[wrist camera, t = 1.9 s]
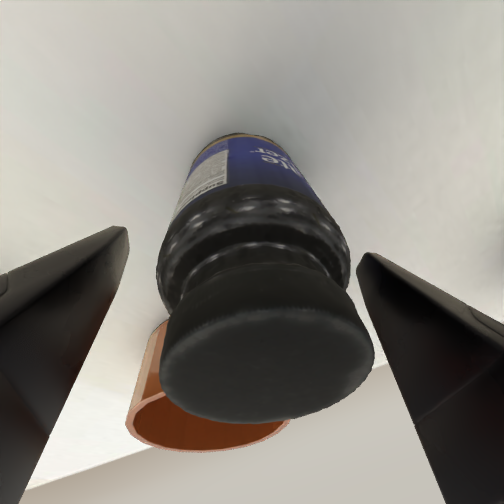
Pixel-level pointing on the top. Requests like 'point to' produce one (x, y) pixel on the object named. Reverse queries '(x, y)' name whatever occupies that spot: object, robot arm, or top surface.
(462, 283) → the top surface
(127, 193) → the top surface
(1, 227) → the top surface
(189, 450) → the bowl
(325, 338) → the pill bottle
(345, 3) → the top surface
